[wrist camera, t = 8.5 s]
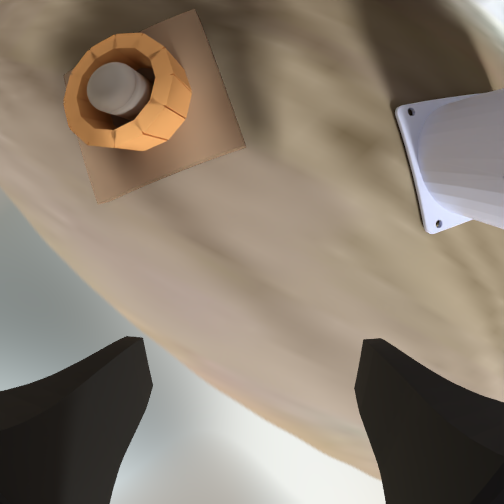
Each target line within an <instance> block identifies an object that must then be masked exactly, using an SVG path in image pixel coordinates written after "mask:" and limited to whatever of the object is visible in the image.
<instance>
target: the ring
mask: <svg viewBox="0 0 504 504" xmlns="http://www.w3.org/2000/svg"><path fill="white" fill-rule="evenodd" d="M111 62H120V63H124V64H126V65H128V66H130V67H131V68H133V69H134V70H135V71H136V70H138V69H140V68H153V71H154V74H155V77H156V78H155V81H154V85H153V89H152V94H151V98H150V101H149V102H148V103H147V104H146V106H145V107H144V108H143V109H142V111H141V112H140V113H139V114H138V116H137V117H136V118H135V120H133V121H131V122H129V123H127V124H125V125H123V126H121V127H119V128H117V127H116V126H115V125H113V121H112V118H111V114H109V113H106V112H103V111H100V110H98V109H96V108H95V107H94V106H93V105H92V104H91V103H90V101H89V99H88V96H87V85H88V81H89V79H90V77H91V75H92V74H93V73H94V72H95V71H96V70H97V69H98V68H99V67H101V66H102V65H104V64H107V63H111ZM71 73H72V74H71V75H70V77H69V81H68V84H67V88H66V93H65V97H64V103H63V104H64V108H65V113H66V117H67V121H68V125H69V128H70V130H72V131H73V132H74V133H75V134H76V135H77V136H78V137H79V138H80V139H81V140H82V141H83V142H84V143H85V144H87V145H88V146H99V147H109V148H119V149H128V150H136V151H145V150H148V149H150V148H152V147H154V146H157V145H159V144H161V143H164V142H166V141H167V140H169V139H170V138H171V136H172V135H173V134H174V133H175V132H176V130H177V129H178V128H179V127H180V126H181V124H182V123H183V122H184V121H185V120H186V119H184V118H187V113H188V108H189V104H190V100H191V95H192V93H191V92H192V90H191V87H190V84H189V81H188V79H187V76H186V73H185V70H184V69H183V67H182V66H181V65H180V64H179V63H178V62H177V60H176V59H175V58H174V57H173V56H172V55H171V54H170V52H169V51H168V50H167V49H166V48H165V47H164V46H163V45H161V44H160V43H158V42H157V41H155V40H154V39H152V38H151V37H149V36H147V35H146V34H143V33H124V34H116V35H112V36H111V37H109V38H107V39H105V40H103V41H102V42H100V43H98V44H97V45H95V46H93V47H91V48H90V50H88V51H87V52H86V53H85V55H84V56H83V57H82V59H81V60H80V61H79V63H78V64H77V65H76V67H75V68H74V69H73V71H72V72H71Z"/></svg>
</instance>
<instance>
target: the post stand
mask: <svg viewBox="0 0 504 504" xmlns="http://www.w3.org/2000/svg"><path fill="white" fill-rule="evenodd" d="M138 33H143V34H146V35H147V36H149V37H151V38H152V39H154V40H155V41H157V42H158V43H160V44H161V45H163V46H164V47H165V48H166V49H167V50H168V51H169V52H170V54H171V55H172V56H173V57H174V58H175V59H176V60H177V62H178V63H179V64H180V65H181V66H182V67H183V69H184V70H185V73H186V76H187V79H188V81H189V84H190V87H191V90H192V92H191V93H192V95H191V100H190V104H189V108H188V113H187V118H184V119H186V120H185V121H184V122H183V123H182V124H181V126H180V127H179V128H178V129H177V130H176V132H175V133H174V134H173V135H172V136H171V138H170V139H169V140H167V141H166V142H164V143H161V144H159V145H157V146H154V147H152V148H150V149H148V150H145V151H136V150H128V149H119V148H109V147H99V146H88V145H87V144H85V143H84V142H83V141H82V140H81V139H80V138H79V137H78V136H77V137H78V141H79V145H80V148H81V152H82V155H83V159H84V162H85V166H86V169H87V172H88V175H89V179H90V182H91V185H92V188H93V191H94V194H95V197H96V200H97V203H98V204H102V203H106V202H110V201H112V200H114V199H116V198H118V197H121V196H123V195H125V194H127V193H129V192H132V191H134V190H136V189H139V188H141V187H143V186H146V185H148V184H150V183H153V182H155V181H158V180H160V179H162V178H165V177H167V176H170V175H172V174H175V173H177V172H180V171H182V170H185V169H187V168H190V167H193V166H195V165H198V164H201V163H203V162H206V161H209V160H211V159H214V158H217V157H220V156H223V155H225V154H228V153H231V152H234V151H237V150H240V149H243V148H246V145H245V142H244V139H243V136H242V133H241V130H240V127H239V125H238V122H237V119H236V116H235V113H234V111H233V108H232V105H231V102H230V99H229V97H228V94H227V91H226V88H225V86H224V83H223V80H222V77H221V75H220V72H219V69H218V66H217V64H216V61H215V58H214V56H213V53H212V50H211V48H210V45H209V42H208V40H207V37H206V34H205V32H204V29H203V27H202V24H201V21H200V19H199V17H198V15H197V12H196V10H195V9H192V10H189V11H186V12H184V13H181V14H179V15H176V16H174V17H171V18H169V19H166V20H164V21H162V22H159V23H157V24H155V25H153V26H150V27H148V28H146V29H144V30H142V31H140V32H138ZM72 71H73V69H72V70H71V71H69V72H68V73H66V74H65V75H64V80H65V85H66V88H67V84H68V81H69V77H70V75H71V74H72V73H71V72H72ZM155 78H156V77H155V74H154V71H153V68H140V69H138V70H136V71H135V70H134V69H133V68H131V67H130V66H128V65H126V64H124V63H120V62H111V63H107V64H104V65H102V66H101V67H99V68H98V69H97V70H96V71H95V72H94V73H93V74H92V75H91V77H90V79H89V81H88V85H87V96H88V99H89V101H90V103H91V104H92V105H93V106H94V107H95V108H96V109H98V110H100V111H103V112H106V113H109V114H111V118H112V121H113V125H115V126H116V127H117V128H119V127H121V126H123V125H125V124H127V123H129V122H131V121H133V120H135V118H136V117H137V116H138V114H139V113H140V112H141V111H142V109H143V108H144V107H145V106H146V104H147V103H148V102H149V101H150V98H151V94H152V89H153V85H154V81H155Z"/></svg>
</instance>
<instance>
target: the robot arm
mask: <svg viewBox="0 0 504 504" xmlns="http://www.w3.org/2000/svg"><path fill="white" fill-rule="evenodd" d="M408 109H410V110H411V111H412V116H410V115H409V114H408ZM395 116H396V119H397V122H398V125H399V128H400V131H401V134H402V138H403V141H404V145H405V148H406V152H407V155H408V159H409V163H410V166H411V170H412V174H413V178H414V182H415V187H416V191H417V195H418V200H419V205H420V210H421V215H422V220H423V225H424V229H425V231H426V232H428V233H430V234H434V233H437V232H440V231H443V230H445V229H448V228H451V227H454V226H456V225H459V224H462V223H464V222H467V221H470V220H472V219H474V220H477V221H480V222H484V223H487V224H490V225H493V226H496V227H499V228H502V229H504V88H503V89H499V90H495V91H491V92H487V93H480V94H471V95H463V96H455V97H448V98H442V99H435V100H429V101H423V102H417V103H412V104H406V105H401V106H399V107H397V108H396V110H395ZM438 220H439V225H438V226H437V227H436V222H437V221H438ZM152 387H153V383H152V379H151V375H150V370H149V366H148V361H147V356H146V351H145V346H144V342H143V338H140V337H128V336H126V337H124V338H122V339H120V340H118V341H116V342H114V343H112V344H110V345H108V346H106V347H105V348H103V349H101V350H99V351H98V352H96V353H94V354H92V355H90V356H89V357H87V358H85V359H83V360H81V361H79V362H77V363H75V364H73V365H71V366H70V367H68V368H66V369H64V370H62V371H60V372H58V373H55V374H53V375H51V376H48V377H46V378H44V379H41V380H38V381H35V382H33V383H30V384H27V385H23V386H19V387H16V388H12V389H8V390H4V391H0V504H109V503H110V499H111V495H112V491H113V487H114V484H115V481H116V477H117V473H118V471H119V467H120V465H121V462H122V460H123V457H124V455H125V453H126V451H127V448H128V446H129V444H130V442H131V440H132V438H133V436H134V433H135V432H136V429H137V427H138V425H139V423H140V421H141V419H142V416H143V414H144V412H145V410H146V407H147V404H148V401H149V398H150V394H151V391H152ZM354 389H355V394H356V399H357V404H358V408H359V413H360V415H361V418H362V421H363V424H364V427H365V430H366V432H367V435H368V438H369V441H370V443H371V446H372V449H373V452H374V455H375V457H376V460H377V463H378V467H379V470H380V474H381V479H382V484H383V489H384V495H385V501H386V504H504V402H500V401H497V400H494V399H491V398H488V397H485V396H482V395H479V394H477V393H474V392H472V391H470V390H467V389H465V388H463V387H461V386H458V385H456V384H454V383H452V382H450V381H449V380H447V379H445V378H443V377H441V376H440V375H438V374H436V373H434V372H433V371H431V370H429V369H428V368H426V367H425V366H423V365H421V364H420V363H418V362H417V361H415V360H414V359H412V358H411V357H409V356H408V355H406V354H405V353H403V352H402V351H400V350H399V349H397V348H396V347H394V346H393V345H391V344H390V343H388V342H386V341H385V340H383V339H381V338H378V339H364V340H363V345H362V351H361V357H360V362H359V368H358V373H357V378H356V383H355V388H354Z"/></svg>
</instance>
